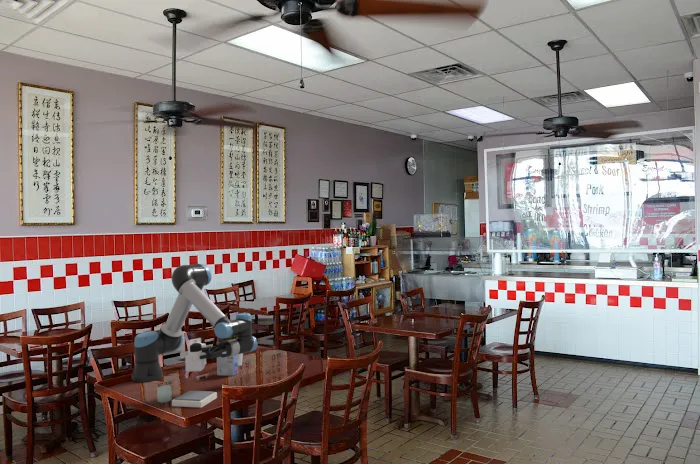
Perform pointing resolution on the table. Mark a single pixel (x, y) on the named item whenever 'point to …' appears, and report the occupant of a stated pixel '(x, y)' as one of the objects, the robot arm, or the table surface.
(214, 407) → the table surface
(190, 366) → the medicine bottle
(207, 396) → the podium
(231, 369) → the ink cartridge box
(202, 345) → the ink cartridge box
